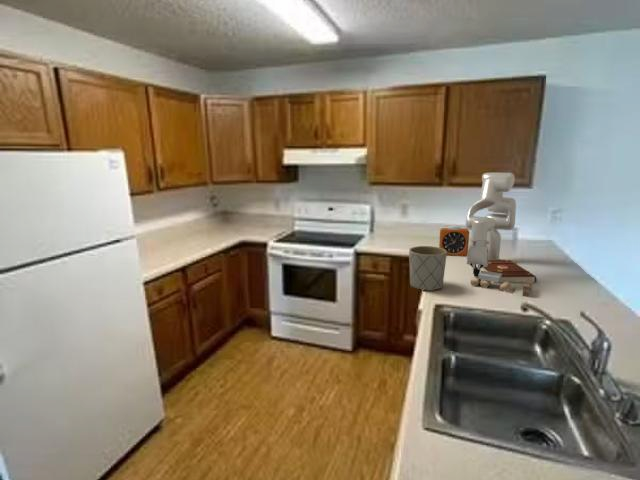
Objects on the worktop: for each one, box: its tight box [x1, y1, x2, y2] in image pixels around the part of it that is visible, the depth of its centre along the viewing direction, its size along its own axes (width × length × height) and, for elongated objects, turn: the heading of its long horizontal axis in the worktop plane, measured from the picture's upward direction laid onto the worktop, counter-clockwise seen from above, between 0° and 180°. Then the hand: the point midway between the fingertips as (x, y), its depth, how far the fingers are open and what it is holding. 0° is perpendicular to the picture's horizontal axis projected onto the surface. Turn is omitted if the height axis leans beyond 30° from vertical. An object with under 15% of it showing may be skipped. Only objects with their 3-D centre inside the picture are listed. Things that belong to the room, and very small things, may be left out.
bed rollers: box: [470, 276, 517, 294], centre depth 200 cm, size 9×21×4 cm, turn 55°
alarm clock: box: [438, 225, 470, 257], centre depth 262 cm, size 18×9×21 cm, turn 76°
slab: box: [478, 271, 502, 283], centre depth 200 cm, size 8×10×2 cm
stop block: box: [522, 280, 533, 298], centre depth 191 cm, size 12×2×5 cm, turn 145°
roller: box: [499, 280, 512, 293], centre depth 197 cm, size 8×4×4 cm, turn 145°
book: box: [476, 259, 538, 284], centre depth 221 cm, size 23×32×5 cm
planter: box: [408, 245, 447, 292], centre depth 202 cm, size 19×19×20 cm
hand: (476, 275), depth 205 cm, fingers closed
